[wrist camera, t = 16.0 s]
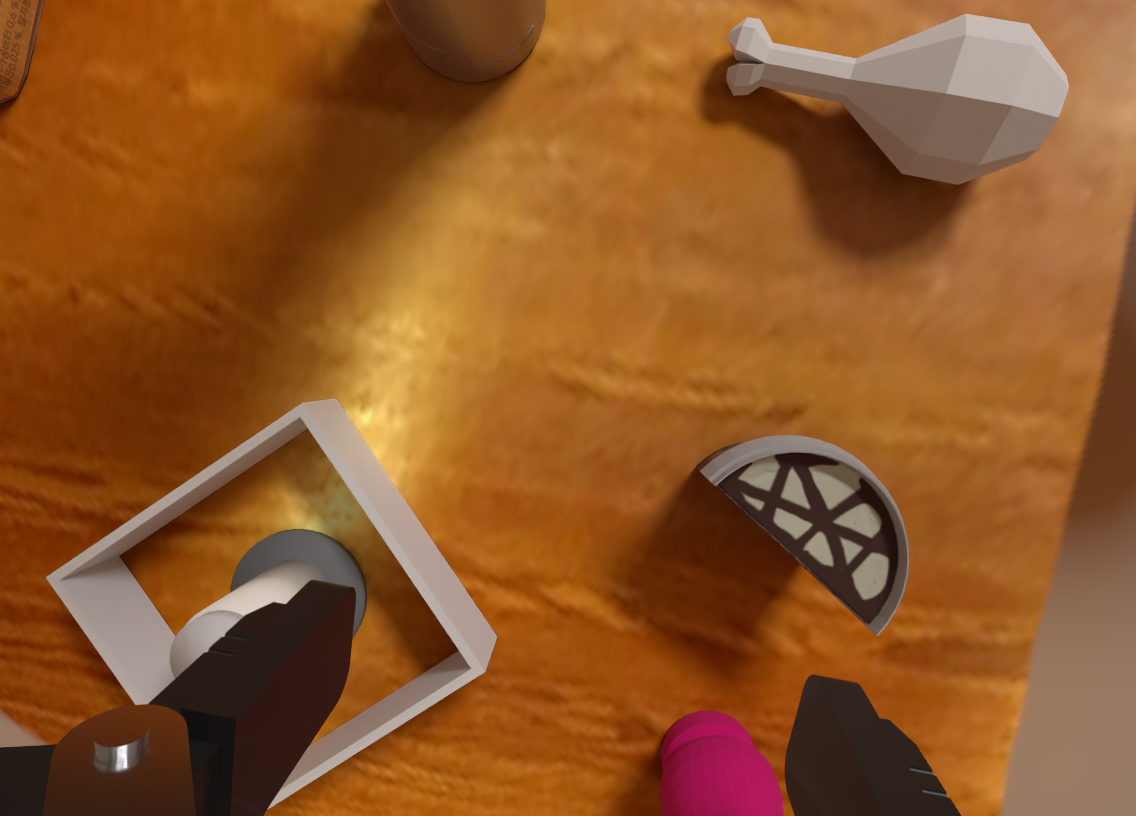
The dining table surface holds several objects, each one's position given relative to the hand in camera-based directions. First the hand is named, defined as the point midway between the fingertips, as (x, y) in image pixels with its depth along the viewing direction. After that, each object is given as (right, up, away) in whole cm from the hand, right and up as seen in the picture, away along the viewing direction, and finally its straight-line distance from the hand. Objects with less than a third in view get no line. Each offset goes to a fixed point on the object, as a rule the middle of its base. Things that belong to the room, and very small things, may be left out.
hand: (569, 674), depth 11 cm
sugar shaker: (-18, -8, +32) cm, 38 cm away
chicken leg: (+18, +24, +30) cm, 42 cm away
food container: (+14, 0, +31) cm, 34 cm away
